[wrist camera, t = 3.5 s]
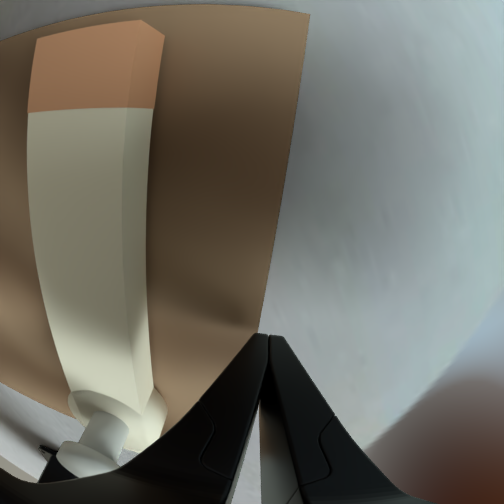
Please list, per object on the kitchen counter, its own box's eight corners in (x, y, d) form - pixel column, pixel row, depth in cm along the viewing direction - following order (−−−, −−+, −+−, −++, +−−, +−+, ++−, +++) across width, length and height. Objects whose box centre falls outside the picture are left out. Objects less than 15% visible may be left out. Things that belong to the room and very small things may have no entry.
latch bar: (170, 433, 12) (147, 507, 8) (93, 409, 12) (60, 474, 8) (183, 35, 6) (99, -27, 2) (59, 48, 6) (-48, 35, 2)
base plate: (233, 445, 14) (231, 461, 13) (-47, 339, 14) (-54, 346, 13) (306, 25, 7) (310, 14, 6) (-86, 91, 7) (-97, 93, 6)
